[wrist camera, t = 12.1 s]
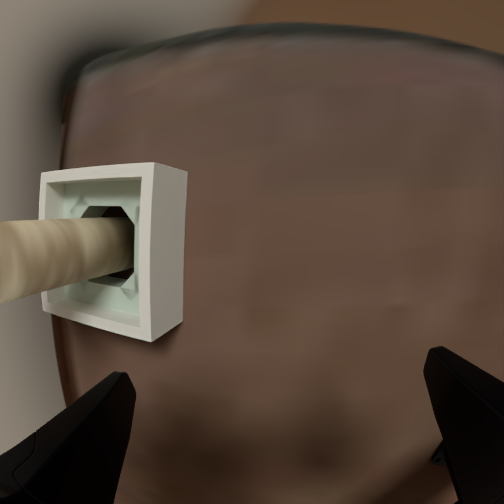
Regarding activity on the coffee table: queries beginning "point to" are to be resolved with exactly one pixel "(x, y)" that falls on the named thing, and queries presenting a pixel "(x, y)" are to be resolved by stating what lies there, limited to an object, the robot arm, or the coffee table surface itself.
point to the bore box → (145, 246)
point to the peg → (61, 252)
